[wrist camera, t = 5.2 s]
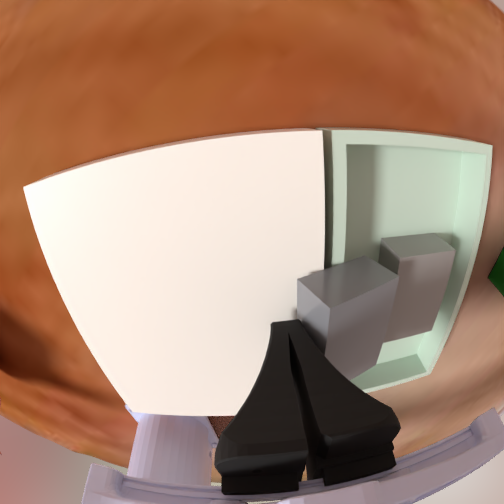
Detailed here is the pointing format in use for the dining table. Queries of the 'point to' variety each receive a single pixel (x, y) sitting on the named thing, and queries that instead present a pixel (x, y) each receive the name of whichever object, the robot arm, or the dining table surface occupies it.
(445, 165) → the box
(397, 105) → the dining table surface
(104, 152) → the dining table surface
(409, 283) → the tile
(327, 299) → the tile
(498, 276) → the milk carton
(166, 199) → the board
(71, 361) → the dining table surface
